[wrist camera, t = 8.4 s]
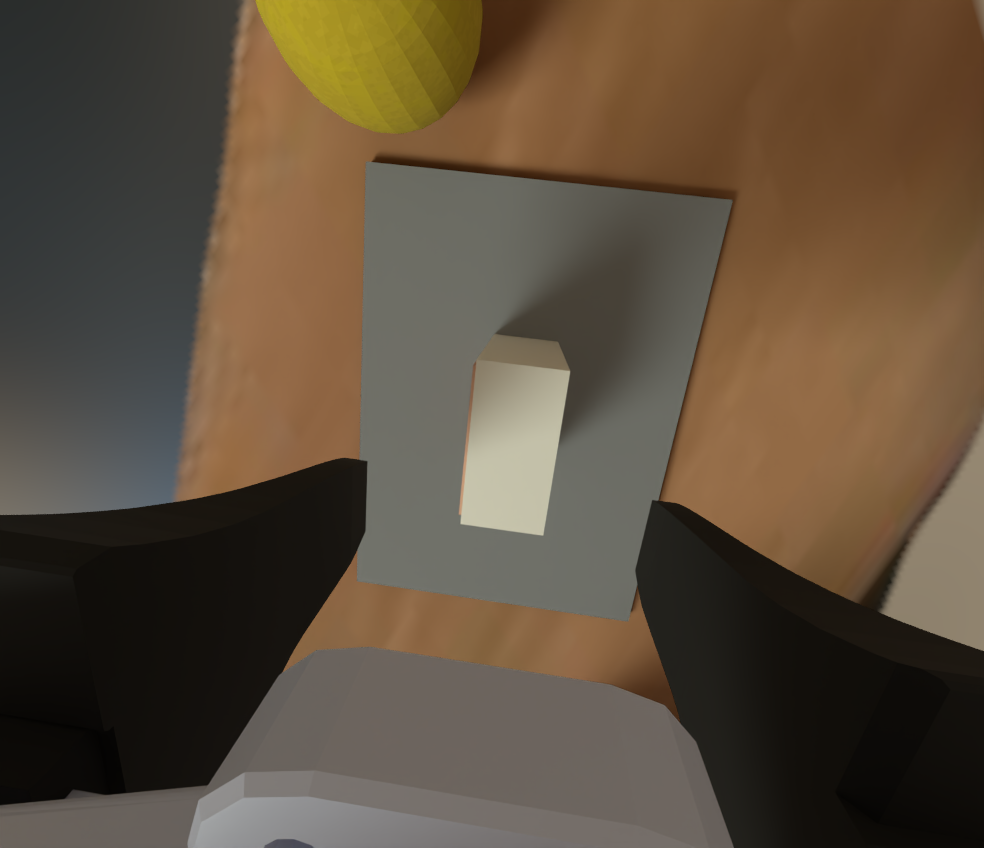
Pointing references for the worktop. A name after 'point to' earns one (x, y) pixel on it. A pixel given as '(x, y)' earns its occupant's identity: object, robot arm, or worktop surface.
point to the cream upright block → (513, 434)
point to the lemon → (379, 55)
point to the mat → (538, 315)
